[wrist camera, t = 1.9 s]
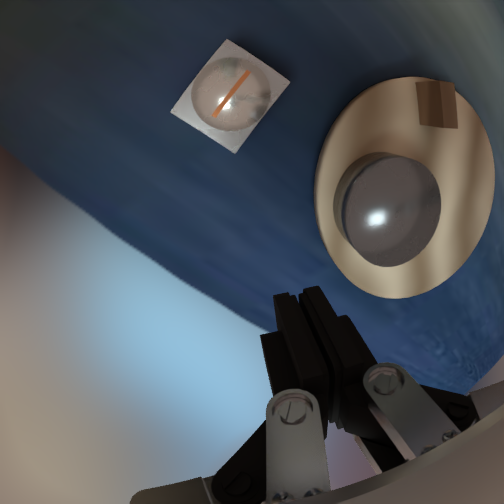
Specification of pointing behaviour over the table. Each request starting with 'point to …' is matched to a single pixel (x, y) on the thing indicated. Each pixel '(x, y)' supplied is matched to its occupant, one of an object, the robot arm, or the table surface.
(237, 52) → the dial gauge
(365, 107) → the turntable
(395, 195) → the disc
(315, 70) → the table surface
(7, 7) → the table surface
